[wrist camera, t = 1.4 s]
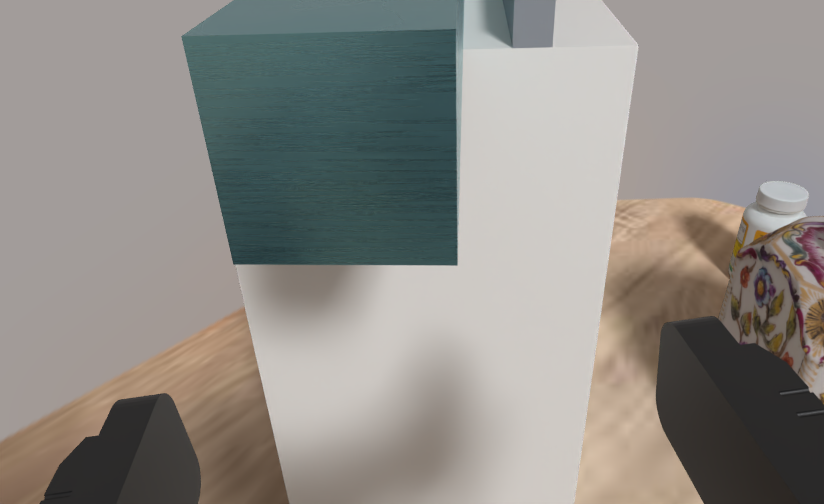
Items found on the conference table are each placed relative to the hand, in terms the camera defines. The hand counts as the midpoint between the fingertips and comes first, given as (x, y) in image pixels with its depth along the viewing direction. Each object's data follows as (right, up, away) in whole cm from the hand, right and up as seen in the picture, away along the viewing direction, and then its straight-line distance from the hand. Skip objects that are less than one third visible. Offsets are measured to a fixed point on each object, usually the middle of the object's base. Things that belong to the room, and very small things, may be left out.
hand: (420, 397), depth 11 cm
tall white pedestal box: (+2, -14, +33) cm, 36 cm away
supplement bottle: (+34, 0, +53) cm, 63 cm away
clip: (0, +10, +11) cm, 15 cm away
